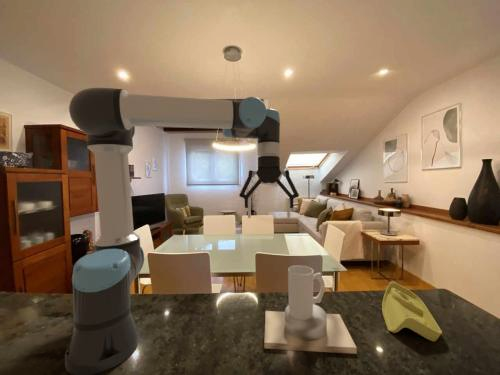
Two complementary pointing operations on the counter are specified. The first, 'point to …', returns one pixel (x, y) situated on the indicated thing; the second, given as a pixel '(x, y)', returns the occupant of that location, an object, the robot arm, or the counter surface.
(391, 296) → the plastic component
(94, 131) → the robot arm
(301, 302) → the mug
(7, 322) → the counter surface
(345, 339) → the board with round cheese
